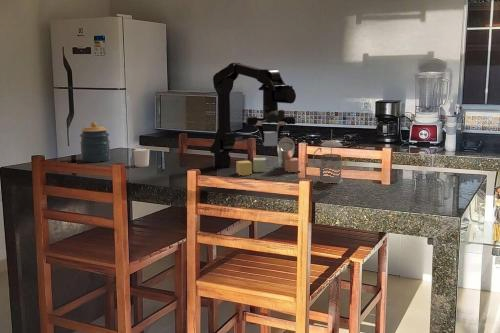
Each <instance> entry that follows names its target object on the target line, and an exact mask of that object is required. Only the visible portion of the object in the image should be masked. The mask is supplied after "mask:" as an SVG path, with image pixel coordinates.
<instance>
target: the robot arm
mask: <svg viewBox="0 0 500 333" xmlns="http://www.w3.org/2000/svg"><path fill="white" fill-rule="evenodd" d="M239 75H242V76H245V77H249V78H252V79H255V80H257V82H259V83H260V84H261V86H260V87H259V88H258V91H262V117H257V116H253V115H252V116H251V115H249V116H246V117H245V124H246V125H248V126H254V127H255V128H257V130H258V132H259V134H260V139H261V141H262V144H263V143H264V133H263V132H264V125H263V123H265V124H266V123H267V124H276V132H277V133H278V141H279V140H280V136H281V133H282V131H283V129H284V128H285V127H288V125H295V124H296V118H295V117H294V116H292V115H285V110H284V109H278V108H279V107H278V106H279V104H293V103H294V102H295V101H296V99H297V98H296V97H297V94H296V91H295V89H294V87H293V85H292V84H291V85H290V84H286V83H285V82H284V80H283V77H282V76H281V73H280V71H279V70H278V69H275V68H274V69H272V68H271V69H268V68H265V69H264V68H258V67H256V66H255V67H254V66H251V65H246V64H243V63H240V62H231V63H229V64H228V65H227V66H225V67H223V68H222V69H220V70H219V71H218V72H216V73H215V74H214V75H213V77H212V83H213V87H214V90H215V91H216V94H217V121H218V122H217V123H218V125H217V126H218V129H217V131H216V133H215V134H214V142H213V143H212V144H211V145H210V147H209V152H210V153H211V154H213V168H214V169H216V168H217V169H218V168H220V169H221V168H223V169H224V168H230V166H231V155H230V153H231V152H233V149H234V146H235V143H237V142H236V132H233V131H232V129H231V99H230V98H231V97H230V95H231V92H232V91H233V88H234V82H235V81H236V80H238V78H239ZM278 103H279V104H278Z"/></svg>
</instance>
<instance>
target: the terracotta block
mask: <svg viewBox="0 0 500 333" xmlns="http://www.w3.org/2000/svg"><path fill="white" fill-rule="evenodd" d="M298 159H299V158H297V157H293V158H290V159H285V167H284V172H287V171H288V173H290V172H295V173H299V172H298Z"/></svg>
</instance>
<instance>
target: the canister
mask: <svg viewBox="0 0 500 333" xmlns="http://www.w3.org/2000/svg"><path fill="white" fill-rule="evenodd" d="M80 131H81V133H80V134H79V137H80V142H79V144H80V160H81V162H84V163H101V162H100V161H104V162H108V161H110V159H111V153H110V148H111V147H110V142H111V141H110V140H109V136H110V133H108V132H107V131H108V129H107V128H106V127H105V126H102V125H98V123H97V122H96V121H92V122H91V124H90V125H89V126H84V128H81V130H80ZM107 160H108V161H107Z"/></svg>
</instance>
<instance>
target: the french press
mask: <svg viewBox="0 0 500 333" xmlns="http://www.w3.org/2000/svg"><path fill="white" fill-rule="evenodd" d="M335 116H336V115H335V114H329V118H331V119H333V118H336V117H335ZM341 147H343V144H342V143H341V142H339V141H337V140H334V139H333V130H331V136H330V140H326V141H324V142H321V144H320V147H319V148H317V149H316V150H314V151H313V152H314V153H313V156H312V161H313V164H314V166H315V167H317V168H319V178H318V179H317V180H318V181H320V182H324V183H323V184H327V183H337V184H342V183H341V182H343V181H344V180H343V179H342V164H343V163H342V161H343V159H341V158H340V157H342V155H341V154H337V153H335V154H334V153H332V152H333V150H332V149H333V148H341ZM322 148H330V153H324V154H321V157H322V158H321V159H320V165H318V164H317V163H316V160H315V154H316V152H317V151H319V150H320V153H321V152H322V151H323V150H322ZM323 169H324V170H323ZM329 169H332V170H334V171H336V172H334V171H332V170H329ZM338 170H340V171H338ZM323 171H325V172H324V173H323ZM326 172H327V173H326ZM328 172H331V173H333V174H335V175H333V174H331V173H328ZM339 173H340V174H339ZM324 174H328V175H331V176H334V177H330V176H323V175H324ZM338 174H339V175H338ZM318 181H317V182H318ZM320 182H319V183H320ZM343 183H344V182H343Z"/></svg>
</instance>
